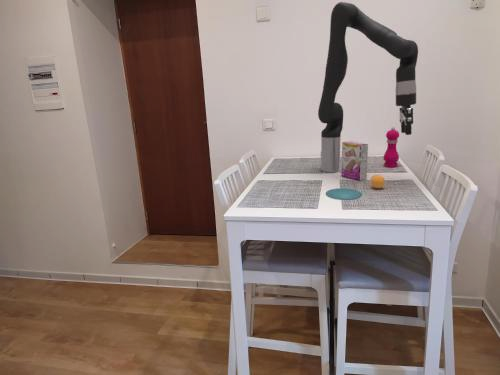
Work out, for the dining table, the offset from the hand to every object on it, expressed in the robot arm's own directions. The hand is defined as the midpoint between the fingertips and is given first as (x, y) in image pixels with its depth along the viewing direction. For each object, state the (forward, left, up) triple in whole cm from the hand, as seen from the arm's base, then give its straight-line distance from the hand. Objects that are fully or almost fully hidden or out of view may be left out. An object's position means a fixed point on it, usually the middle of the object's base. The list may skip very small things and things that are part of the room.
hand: (406, 133), depth 138 cm
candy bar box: (-16, -13, -21) cm, 30 cm away
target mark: (+2, -30, -21) cm, 37 cm away
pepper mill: (-25, +15, -21) cm, 36 cm away
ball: (+2, -14, -18) cm, 23 cm away
